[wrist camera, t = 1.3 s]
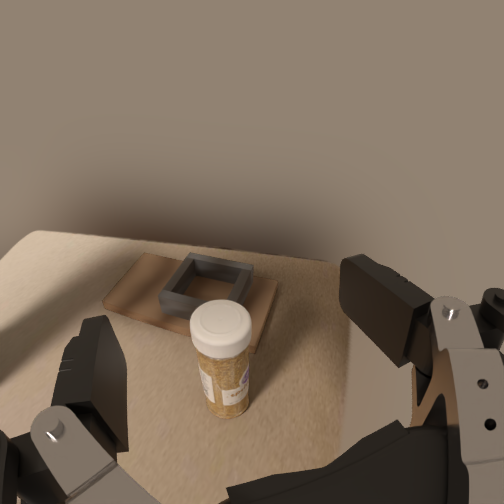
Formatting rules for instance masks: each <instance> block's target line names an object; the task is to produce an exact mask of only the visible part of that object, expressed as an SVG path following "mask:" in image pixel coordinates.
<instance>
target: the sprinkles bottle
mask: <svg viewBox="0 0 504 504" xmlns="http://www.w3.org/2000/svg"><path fill="white" fill-rule="evenodd" d="M251 329H252V323H251V317H250V315H249V313H248V311H247V310H246V309H245V308H244V307H243V306H242V305H240V304H238V303H236V302H234V301H230V300H213V301H209V302H206V303H204V304H202V305H201V306H199V307H198V308H197V309H196V310H195V311H194V312H193V314H192V316H191V319H190V332H191V337H192V341H193V344H194V346H195V348H196V351H197V356H198V365H199V370H200V374H201V379H202V384H203V388H204V392H205V394H206V397H207V398H206V403H207V406H208V408H209V410H210V411H211V412H212V413H213V414H214V415H216V416H218V417H220V418H225V419H230V418H234V417H237V416H239V415H241V414H242V413H243V412H244V411H245V410H246V408H247V407H248V404H249V397H248V388H249V362H248V355H249V352H248V350H249V343H250V340H251Z"/></svg>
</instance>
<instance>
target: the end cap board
mask: <svg viewBox="0 0 504 504" xmlns="http://www.w3.org/2000/svg"><path fill="white" fill-rule="evenodd" d="M253 266H254V265H251V264H245V263H240V262H235V261H230V260H225V259H220V258H215V257H210V256H205V255H200V254H195V253H189V254H188V256H187V257H186V258H185V259H184V261H180V260H176V259H171V258H167V257H162V256H157V255H153V254H148V253H144V254H143V255H142V256H141V257H140V258H139V259H138V260H137V261H136V263H135V264H134V265H133V266H132V267H131V268H130V269H129V270H128V272H127V273H126V274H125V275H124V276H123V277H122V278H121V280H120V281H119V282H118V283H117V284H116V285H115V286H114V288H113V289H112V290H111V291H110V292H109V293H108V295H107V296H106V297H105V298H104V299H103V300H102V302H103V305H104V307H105V309H108V310H111V311H113V312H116V313H119V314H122V315H124V316H127V317H130V318H133V319H136V320H139V321H142V322H145V323H148V324H151V325H154V326H157V327H160V328H163V329H167V330H170V331H173V332H176V333H180V334H183V335H186V336H190V337H191V332H190V319H191V316H192V314H193V312H194V311H195V310H196V309H197V308H198V307H199V306H201V305H202V304H204V303H206V302H209V301H213V300H230V301H234V302H236V303H238V304H240V305H242V306H243V307H244V308H245V309H246V310H247V311H248V313H249V315H250V317H251V323H252V329H251V340H250V343H249V350H248V352H249V353H253V354H255V351H256V349H257V346H258V343H259V340H260V337H261V334H262V332H263V329H264V326H265V323H266V320H267V317H268V314H269V311H270V308H271V305H272V303H273V300H274V297H275V294H276V291H277V286H278V281H277V280H272V279H267V278H262V277H257V276H253Z"/></svg>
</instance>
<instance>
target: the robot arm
mask: <svg viewBox="0 0 504 504" xmlns="http://www.w3.org/2000/svg"><path fill="white" fill-rule="evenodd" d="M339 301H340V305H341V308H342V310H343V311H344V313H345V314H346V315H347V316H348V317H349V318H350V319H351V320H352V321H353V322H354V323H355V324H356V325H358V327H359V328H360V329H361V330H362V331H363V332H364V333H365V334H366V335H367V336H368V337H369V338H370V339H371V340H372V341H373V342H374V343H375V344H376V345H377V346H378V347H379V348H380V349H381V350H382V351H383V352H384V354H386V355H387V357H389V358H390V360H391V361H392V362H393V363H394V364H395V365H396V366H397V367H398V368H399V367H401V366H403V365H405V364H407V363H409V362H412V363H413V364H414V365H413V368H412V420H411V424H410V427H408V428H404V427H403V426H402V424H401V423H400V422H399V421H398V420H396V421H394V422H392V423H390V424H389V425H387V426H385V427H383V428H381V429H379V430H378V431H376V432H374V433H372V434H370V435H368V436H366V437H364V438H362V439H361V440H360V441H358V442H357V443H356V444H355V445H353V446H352V447H351V448H350V449H348V450H347V451H346V452H345V453H343V454H342V455H341V456H340V457H338V458H337V459H336V460H334V461H333V462H332V463H330V464H329V465H327V466H325V467H322V468H318V469H312V470H305V471H299V472H291V473H283V474H274V475H270V476H267V477H264V478H261V479H257V480H254V481H250V482H247V483H243V484H239V485H235V486H231V487H227V488H226V490H227V493H228V496H229V498H228V499H226V500H224V501H222V502H220V503H219V504H504V355H503V354H502V353H501V352H500V351H499V350H500V348H501V345H502V343H503V341H504V290H503V289H500V288H490V289H487V290H486V291H485V292H484V294H483V298H482V301H481V304H476V305H471V306H468V305H467V304H466V303H465V302H464V301H462V300H460V299H458V298H455V297H449V296H443V297H438V298H436V299H434V298H433V297H432V296H430V295H429V294H427V293H426V292H424V291H423V290H422V289H420V288H419V287H417V286H416V285H415V284H413V283H412V282H410V281H409V282H408V280H407V279H406V278H404V277H403V276H400V274H398V273H397V272H396V271H394V270H393V269H391V268H389V267H386V266H383V265H380V264H378V263H376V262H374V261H373V260H372V259H370V258H369V257H367V256H366V255H364V254H359V255H355V256H352V257H348V258H344V259H343V260H342V262H341V265H340V288H339ZM128 451H129V447H128V427H127V366H126V360H125V357H124V354H123V351H122V349H121V347H120V344H119V342H118V340H117V338H116V335H115V333H114V331H113V328H112V326H111V323H110V321H109V319H108V317H107V316H106V315H102V316H97V317H92V318H87V319H84V320H83V322H82V326H81V330H80V333H79V336H76V337H73V338H72V339H71V340H70V342H69V343H68V344H67V346H66V347H65V349H64V353H63V356H62V362H61V364H60V368H59V372H58V376H57V380H56V384H55V389H54V393H53V398H52V403H51V407H49V408H46V409H45V410H43V411H42V412H40V413H39V414H38V415H37V416H36V418H35V419H34V421H33V423H32V425H31V432H28V433H25V434H23V435H20V436H17V437H14V438H11V439H9V438H8V437H7V436H6V435H5V433H4V432H3V431H1V430H0V504H17V496H18V497H19V498H20V499H21V504H161V503H160V502H158V501H157V500H156V499H155V498H154V497H153V496H151V495H150V494H149V493H148V492H147V491H146V490H145V489H144V488H142V487H141V486H140V485H139V484H138V483H137V482H136V481H135V480H134V479H133V478H132V477H131V476H130V475H129V474H128V473H127V472H126V471H125V470H124V469H123V468H122V467H121V466H120V465H119V464H118V463H117V453H119V452H128Z"/></svg>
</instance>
